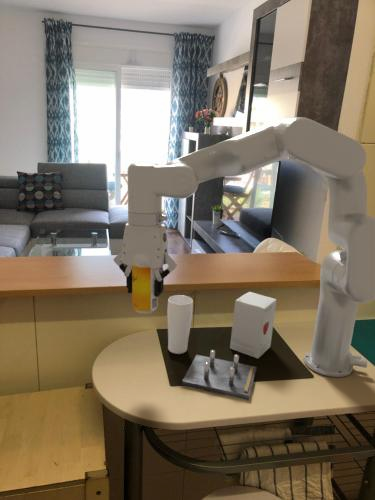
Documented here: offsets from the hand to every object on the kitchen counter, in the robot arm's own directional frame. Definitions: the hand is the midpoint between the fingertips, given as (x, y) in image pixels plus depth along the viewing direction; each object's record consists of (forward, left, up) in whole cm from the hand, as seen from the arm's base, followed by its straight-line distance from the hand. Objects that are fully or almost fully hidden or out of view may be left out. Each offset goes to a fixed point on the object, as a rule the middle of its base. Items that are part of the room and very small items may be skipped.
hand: (144, 292), depth 99 cm
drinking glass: (-5, -13, -21) cm, 25 cm away
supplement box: (-24, -22, -21) cm, 39 cm away
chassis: (-19, -4, -21) cm, 29 cm away
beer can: (0, 0, -5) cm, 5 cm away
